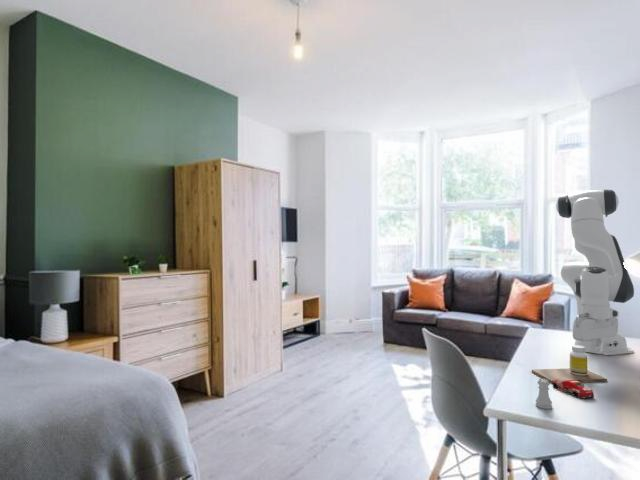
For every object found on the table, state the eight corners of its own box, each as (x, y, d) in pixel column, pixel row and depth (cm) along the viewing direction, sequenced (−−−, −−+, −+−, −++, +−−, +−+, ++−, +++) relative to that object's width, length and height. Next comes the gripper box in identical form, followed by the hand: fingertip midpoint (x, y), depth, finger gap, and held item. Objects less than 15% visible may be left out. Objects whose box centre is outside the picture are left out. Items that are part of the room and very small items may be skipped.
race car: (549, 386, 138) (548, 374, 138) (562, 385, 139) (562, 373, 139) (582, 401, 125) (582, 388, 125) (596, 399, 126) (596, 386, 126)
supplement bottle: (590, 376, 143) (590, 348, 143) (573, 375, 144) (573, 348, 144) (583, 371, 148) (583, 344, 148) (567, 370, 149) (567, 344, 149)
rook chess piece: (532, 403, 123) (531, 377, 123) (546, 403, 123) (545, 376, 123) (541, 410, 118) (541, 382, 118) (555, 409, 119) (555, 382, 119)
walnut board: (583, 370, 152) (583, 368, 152) (607, 381, 141) (607, 378, 141) (531, 372, 151) (531, 369, 151) (551, 383, 139) (551, 380, 139)
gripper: (585, 316, 139) (585, 356, 139) (621, 311, 148) (622, 349, 148) (567, 313, 145) (567, 351, 145) (603, 308, 153) (604, 345, 153)
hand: (595, 350), depth 146 cm, fingers closed
